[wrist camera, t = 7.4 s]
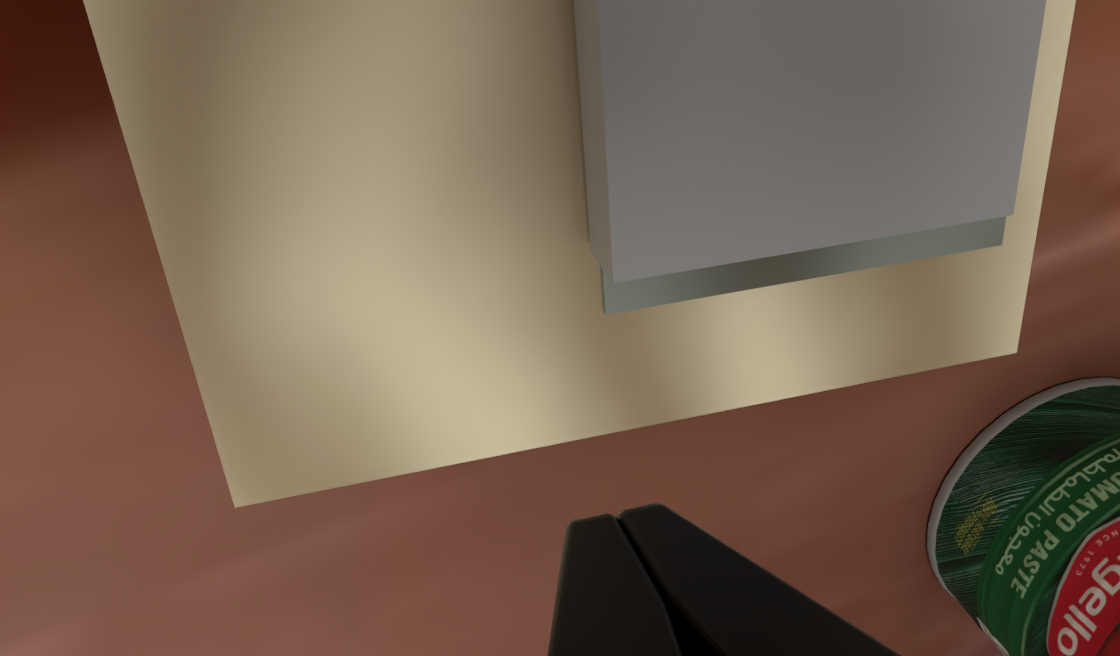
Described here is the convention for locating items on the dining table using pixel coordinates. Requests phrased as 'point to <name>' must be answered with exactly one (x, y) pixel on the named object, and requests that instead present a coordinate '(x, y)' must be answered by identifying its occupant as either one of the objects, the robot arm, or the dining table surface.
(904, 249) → the board
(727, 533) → the dining table surface
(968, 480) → the canned tomato
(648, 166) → the tile
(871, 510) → the dining table surface
